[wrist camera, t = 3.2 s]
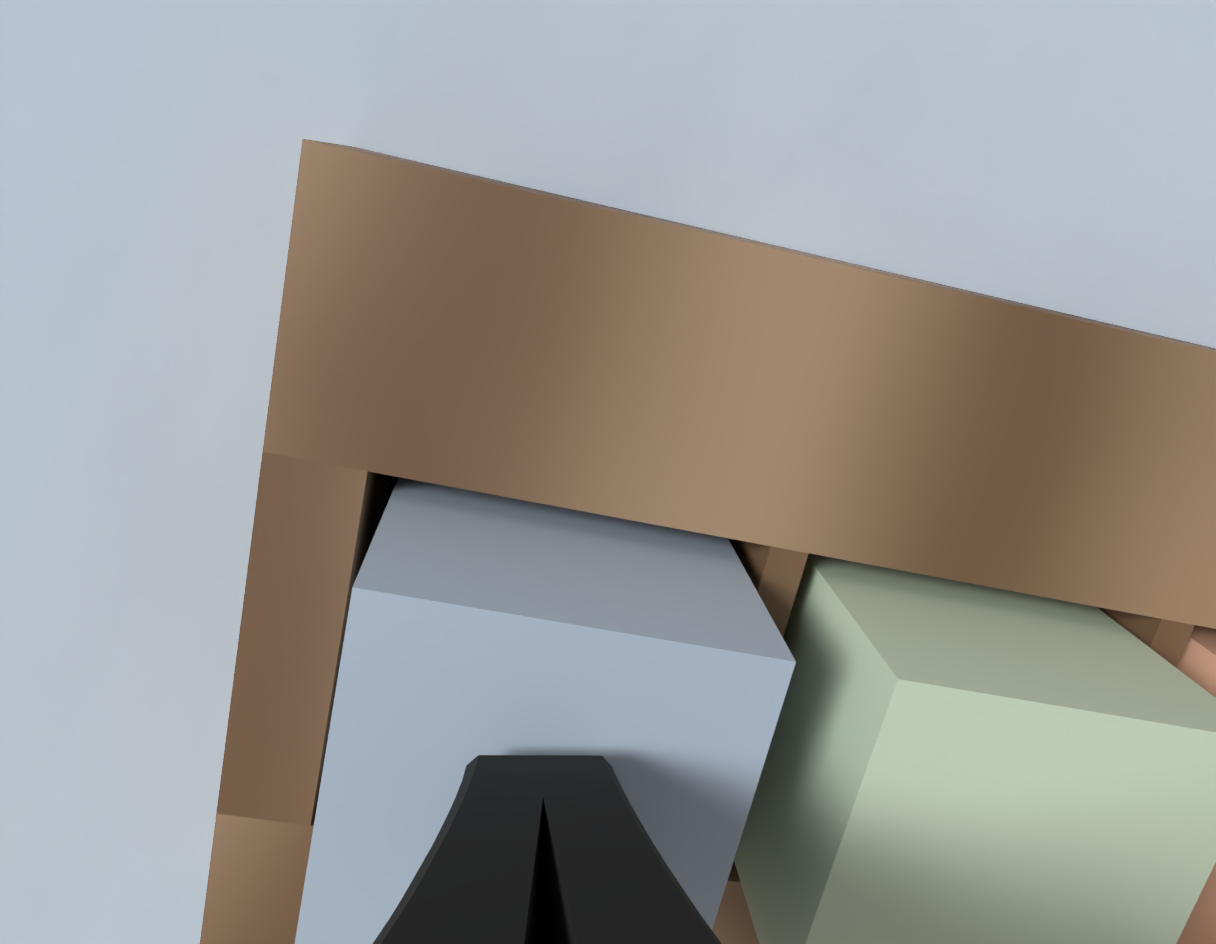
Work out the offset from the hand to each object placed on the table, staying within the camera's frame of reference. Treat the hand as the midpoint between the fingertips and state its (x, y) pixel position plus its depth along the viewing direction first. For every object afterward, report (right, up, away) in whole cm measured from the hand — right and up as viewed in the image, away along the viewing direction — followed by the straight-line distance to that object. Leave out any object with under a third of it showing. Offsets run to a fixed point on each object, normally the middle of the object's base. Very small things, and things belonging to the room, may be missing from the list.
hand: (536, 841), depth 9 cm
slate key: (0, +1, +4) cm, 4 cm away
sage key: (+5, 0, +4) cm, 7 cm away
